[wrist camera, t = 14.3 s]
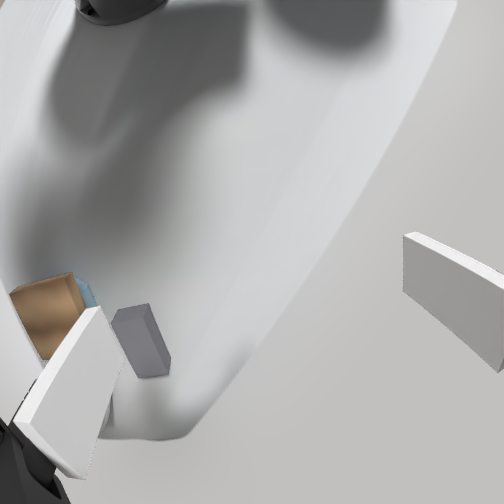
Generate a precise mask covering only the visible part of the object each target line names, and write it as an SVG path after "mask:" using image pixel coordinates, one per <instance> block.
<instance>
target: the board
mask: <svg viewBox="0 0 504 504" xmlns="http://www.w3.org/2000/svg"><path fill="white" fill-rule="evenodd" d="M9 295H10V297H11V300H12V302H13V304H14V306H15V308H16V311H17V313H18V315H19V317H20V319H21V321H22V323H23V325H24V327H25V329H26V331H27V333H28V335H29V337H30V339H31V340H32V342H33V344H34V346H35V348H36V349H37V351H38V353H39V355H40V356H41V358H42V360H50V359H51V357H52V356H53V354H54V353H55V351H56V350H57V349H58V347H59V346H60V344H61V343H62V341H63V340H64V338H65V337H66V336H67V334H68V333H69V331H70V330H71V329H72V327H73V326H74V324H75V323H76V322H77V320H78V319H79V318H80V316H81V315H82V313H83V312H84V311H85V309H87V307H86V305H85V302H84V300H83V298H82V295H81V293H80V290H79V288H78V286H77V283H76V280H75V278H74V275H73V273H72V272H70V273H66V274H63V275H59V276H55V277H52V278H48V279H44V280H41V281H37V282H34V283H30V284H27V285H23V286H20V287H17V288H16V289H15V290H13V291H12V292H11V293H10V294H9Z"/></svg>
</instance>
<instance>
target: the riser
mask: <svg viewBox="0 0 504 504" xmlns="http://www.w3.org/2000/svg"><path fill="white" fill-rule="evenodd" d="M111 325H112V328H113V330H114V332H115V334H116V336H117V338H118V340H119V342H120V344H121V346H122V348H123V350H124V352H125V354H126V356H127V358H128V360H129V362H130V364H131V366H132V368H133V370H134V371H135V373H136V375H137V377H138V378H143V377H151V376H159V375H166V374H168V373H169V367H170V361H171V356H170V354H169V352H168V350H167V347H166V345H165V343H164V340H163V338H162V336H161V333H160V331H159V328H158V326H157V324H156V321H155V319H154V316H153V313H152V311H151V308H150V306H149V303H148V304H143V305H139V306H134V307H129V308H124V309H119V310H118V311H117V313H116V315H115V317H114V318H113V320H112V322H111Z"/></svg>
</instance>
